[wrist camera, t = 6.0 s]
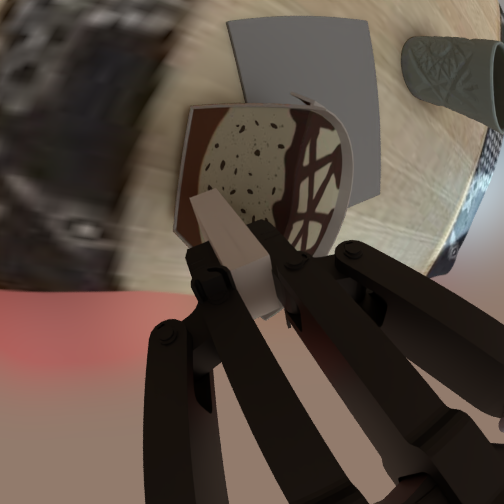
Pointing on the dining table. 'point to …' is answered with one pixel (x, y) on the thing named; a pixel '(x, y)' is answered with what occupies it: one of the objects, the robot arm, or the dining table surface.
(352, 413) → the robot arm
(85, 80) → the dining table surface
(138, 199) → the dining table surface
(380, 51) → the dining table surface
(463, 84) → the grey green cup
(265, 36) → the mat
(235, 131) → the food container
